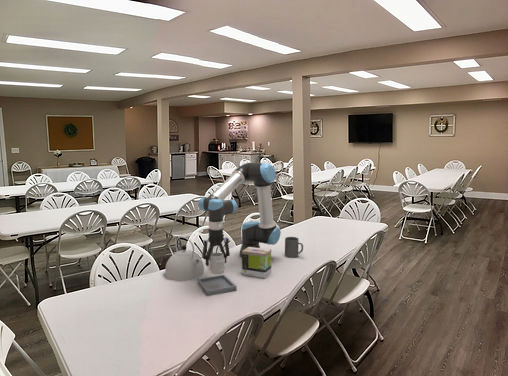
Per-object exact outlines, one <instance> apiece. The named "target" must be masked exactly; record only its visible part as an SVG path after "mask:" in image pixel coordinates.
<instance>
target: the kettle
mask: <svg viewBox="0 0 508 376" xmlns="http://www.w3.org/2000/svg"><path fill="white" fill-rule="evenodd" d="M180 238H183V239H185V240H187V241H189V243H190V244H191V247H192V250H189V249H187V247H188V246H186V245H182V246H181V249H182V250H179V249H178V241H179V239H180ZM175 239H176V240H175V250H176V252H175V253H173V254H171V256H170V257H169V258H168V260H167V262H166V263H165V271H164V273H165V274H164V276H165V277H166V279H167V280H171V281H174V282H175V281H176V282H188V281H194V280H197V279H200V278H201V277H202V278H203V276H204V275H205V267H204V266H205V265H204V262H203V259H202V257H200V256H199V255H198V254H197V253H196V252H195V247H194V243H193V242H192V240H191V239H190V238H188V237H185V236H183V235H180V236H178V237H176V238H175Z"/></svg>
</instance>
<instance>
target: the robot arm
mask: <svg viewBox="0 0 508 376" xmlns="http://www.w3.org/2000/svg"><path fill="white" fill-rule="evenodd" d="M275 181H276V170H275V167H274V166H273V165H272V164H270V163H266V162H246V163H243V164H241V165H240V166H238V167H237V168H235V169H234V170H233V171H232V172H231V175H230V176H228V178H226V180H224V182H222V183H221V184H220V185H219V186H218V187H217V188H216V189H215V190H214V191H212V193H211V194H210V195H208V196H207V197H201V198H199V200H198V203H197V204H198V208H199V210H200V211H203V212H207V213H208V238H207V239H203V240H202V242H203V243H202V244H203V247H202V248H203V249H202V255H201V259H202V260H205V265H206V268H207V269H206V270H207V271H208V272H209V273H211V271H210V268H211V267H210V259H209V258H210V255H211V252H212V251H213V249H214V248H215V247H218V248H219V249H220V251H221V252H220V253H222V254H223V255H224V268H225V269H226V265H225V264H226V263H227V259H228V257H229V256H230V255H231V254H230V246H229V239H230V238H228V237H224V216H227V215H231V214H234V213H235V212H237V211H238V203H237V201H235V200H234V199H226V198H227V197H229V195H230V194H231V193H232V192H233V191H234V190H236V189H237V188H238V187H239V186H240V185H243V184H244V183H245V182H253V186H254V187H255V188H256V194H257V202H258V204H257V205H258V213H259V221H257V220H254V221H253V220H252V221H251V220H250V221H246V222H244V223H242V226H241V246H240V250H239V257H240V258H242V251H243V250H244V249H246V248H248V247H255V248H261V246H260V244H264V245H268V246H269V245H271V246H272V245H273V246H274V245H276V244H277V243H278V242H279V241H280V237H281V228H280V227H278V226H277V222H276V221H274V212H273V210H274V209H273V200H272V199H273V198H272V189H271V187H272V185H273V183H274V182H275ZM225 199H226V200H225ZM223 242H224V247H223ZM208 244H209V247H208Z"/></svg>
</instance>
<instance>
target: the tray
mask: <svg viewBox="0 0 508 376" xmlns="http://www.w3.org/2000/svg"><path fill="white" fill-rule="evenodd" d="M196 283H197V285H198V286H199V287H200V289H202V292H204V294H206V296H208V297H209V296H214V295H221V294H226V293H231V292H235V291H237V289H238V288H237V284H235V283H234V282H233V281H232V280H231V279H230V278H228V276H226V275H225V274H219V275H214V276H207V277H202V278H201V277H200V278H197V279H196Z"/></svg>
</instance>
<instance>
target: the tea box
mask: <svg viewBox="0 0 508 376" xmlns="http://www.w3.org/2000/svg"><path fill="white" fill-rule="evenodd" d="M271 273H272V249H270V248H262V247H260V248H255V247H248V248H246V249H244V250H243V251H242V257H241V275H243V276H249V277H255V278H256V277H257V278H260V279H261V278H262V279H266V278H267V277H268V276H269V275H271Z"/></svg>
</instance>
